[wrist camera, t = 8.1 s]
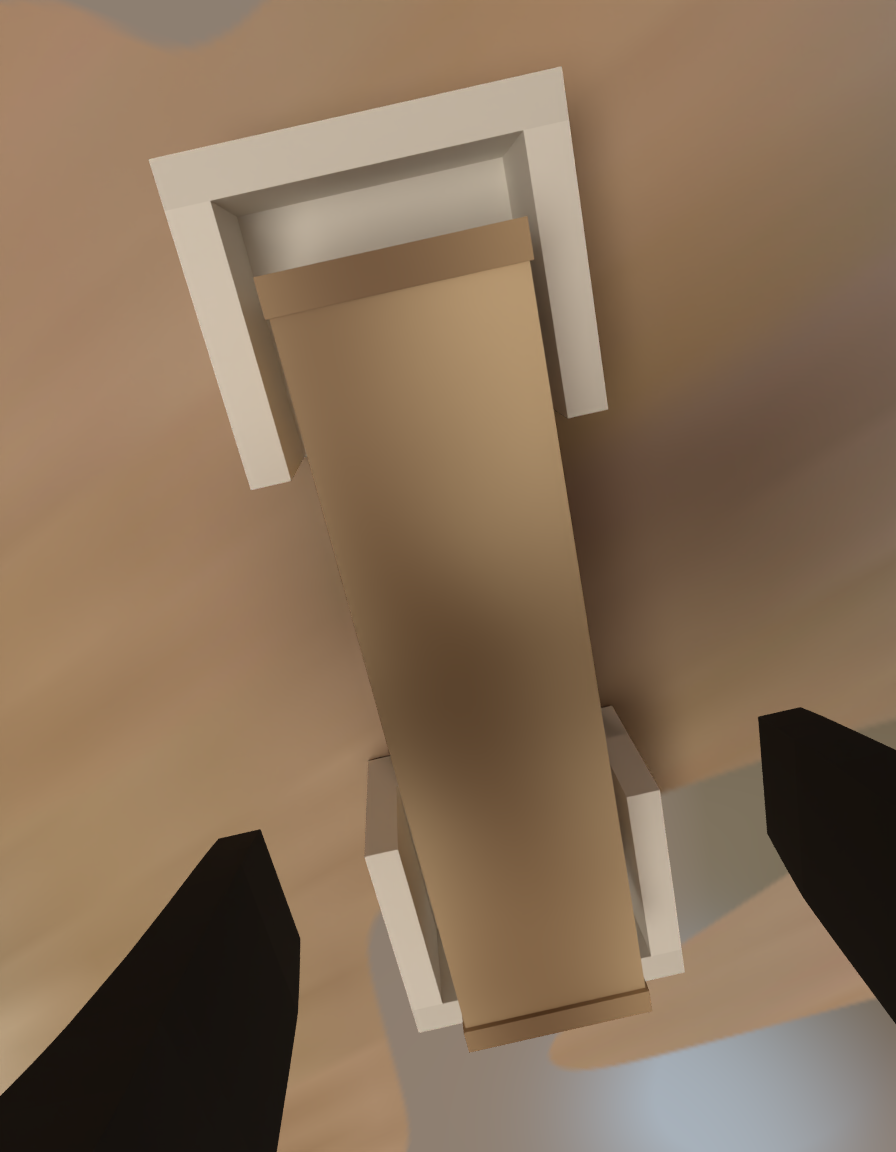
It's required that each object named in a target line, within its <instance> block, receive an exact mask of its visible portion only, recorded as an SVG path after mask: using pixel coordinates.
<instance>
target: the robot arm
mask: <svg viewBox="0 0 896 1152" xmlns="http://www.w3.org/2000/svg"><path fill="white" fill-rule="evenodd" d="M758 721H759V733H760V746H761V759H762V772H763V785H764V797H765V810H766V823H767V834H768V836H769V837H770V839H771V841H772V843H773V845H774V847H775V848H776V850H777V852H778V854H779V856H780V857H781V859H782V861H783V863H784V865H785V867H786V869H787V870H788V872H789V874H790V875H791V877H792V879H793V881H794V882H795V884H796V886H797V888H798V889H799V891H800V893H801V894H802V896H803V898H804V899H805V901H806V902H807V904H808V905H809V906H810V908H811V909H812V911H813V912H814V913H815V915H816V916H817V918H818V919H819V920H820V922H821V923H822V924H823V926H824V927H825V929H826V930H827V931H828V933H829V934H830V935H831V937H832V938H833V940H834V941H835V942H836V944H837V945H838V946H839V948H840V949H841V951H842V952H843V953H844V955H845V956H846V957H847V959H848V960H849V961H850V963H851V964H852V965H853V967H854V968H855V969H856V971H857V972H858V973H859V975H860V976H861V978H862V979H863V980H864V982H865V983H866V984H867V986H868V987H869V988H870V990H871V991H872V992H873V994H874V995H875V996H876V998H877V999H878V1001H879V1002H880V1003H881V1005H882V1006H883V1007H884V1009H885V1010H886V1011H887V1013H888V1014H889V1015H890V1017H891V1018H892V1019H893V1021H894V1022H895V1024H896V750H894V749H892V748H890V747H888V746H886V745H884V744H882V743H880V742H877V741H875V740H873V739H871V738H869V737H867V736H864V735H862V734H860V733H858V732H856V731H854V730H851V729H849V728H847V727H845V726H843V725H841V724H838V723H836V722H834V721H832V720H830V719H827V718H825V717H823V716H821V715H818V714H816V713H814V712H811V711H809V710H806V709H804V708H801V707H799V708H795V709H791V710H786V711H782V712H777V713H773V714H769V715H764V716H760V717H758ZM299 975H300V937H299V934H298V931H297V929H296V926H295V923H294V920H293V918H292V915H291V912H290V909H289V907H288V904H287V901H286V898H285V896H284V893H283V890H282V887H281V885H280V882H279V879H278V876H277V874H276V871H275V868H274V865H273V863H272V860H271V857H270V854H269V852H268V849H267V846H266V843H265V841H264V838H263V835H262V832H261V830H255V831H251V832H246V833H242V834H238V835H233V836H229V837H224V838H220V839H218V840H217V841H216V842H215V844H214V845H213V846H212V847H211V848H210V850H209V851H208V852H207V853H206V855H205V856H204V857H203V858H202V860H201V861H200V862H199V864H198V865H197V866H196V868H195V869H194V870H193V871H192V873H191V874H190V875H189V877H188V878H187V879H186V881H185V882H184V883H183V885H182V886H181V887H180V888H179V890H178V891H177V892H176V894H175V895H174V896H173V898H172V899H171V900H170V902H169V903H168V904H167V905H166V907H165V908H164V909H163V911H162V912H161V913H160V914H159V916H158V917H157V918H156V919H155V921H154V922H153V923H152V925H151V926H150V927H149V928H148V930H147V931H146V932H145V933H144V935H143V936H142V937H141V939H140V940H139V941H138V942H137V944H136V945H135V946H134V947H133V949H132V950H131V951H130V953H129V954H128V955H127V956H126V957H125V959H124V960H123V961H122V962H121V963H120V965H119V966H118V967H117V968H116V969H115V970H114V972H113V973H112V974H111V975H110V976H109V977H108V979H107V980H106V981H105V982H104V983H103V985H102V986H101V987H100V988H99V989H98V990H97V992H96V993H95V994H94V995H93V996H92V997H91V999H90V1000H89V1001H88V1002H87V1003H86V1004H85V1006H84V1007H83V1008H82V1009H81V1010H80V1012H79V1013H78V1014H77V1015H76V1016H75V1017H74V1019H73V1020H72V1021H71V1022H70V1023H69V1024H68V1026H67V1027H66V1028H65V1029H64V1030H63V1031H62V1032H61V1033H60V1034H59V1035H58V1037H57V1038H56V1039H55V1040H54V1041H53V1042H52V1043H51V1044H50V1045H49V1046H48V1047H47V1048H46V1049H45V1051H44V1052H43V1053H42V1054H41V1055H40V1056H39V1057H38V1058H37V1059H36V1060H35V1061H34V1062H33V1063H32V1064H31V1065H30V1066H29V1067H28V1068H27V1069H26V1070H25V1071H24V1073H23V1074H22V1075H21V1076H20V1077H19V1078H18V1079H17V1080H16V1081H15V1082H14V1083H13V1084H12V1085H11V1086H10V1087H9V1088H8V1089H7V1090H6V1091H5V1092H4V1093H3V1094H2V1095H1V1096H0V1152H277V1146H278V1140H279V1133H280V1127H281V1120H282V1114H283V1108H284V1101H285V1095H286V1089H287V1082H288V1076H289V1069H290V1063H291V1056H292V1049H293V1043H294V1036H295V1029H296V1022H297V1015H298V999H299Z"/></svg>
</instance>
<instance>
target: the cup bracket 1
mask: <svg viewBox="0 0 896 1152" xmlns="http://www.w3.org/2000/svg"><path fill="white" fill-rule="evenodd" d="M149 163H150V166H151V169H152V172H153V175H154V179H155V182H156V185H157V188H158V192H159V195H160V198H161V201H162V205H163V208H164V211H165V214H166V217H167V221H168V224H169V227H170V230H171V234H172V237H173V240H174V243H175V246H176V250H177V253H178V256H179V259H180V263H181V266H182V269H183V272H184V276H185V279H186V282H187V285H188V288H189V292H190V295H191V298H192V301H193V305H194V308H195V311H196V314H197V318H198V321H199V324H200V327H201V330H202V334H203V337H204V340H205V343H206V347H207V350H208V353H209V356H210V360H211V363H212V366H213V369H214V372H215V376H216V379H217V382H218V385H219V389H220V392H221V395H222V398H223V401H224V405H225V408H226V411H227V414H228V418H229V421H230V424H231V427H232V431H233V434H234V437H235V440H236V443H237V447H238V450H239V453H240V456H241V460H242V463H243V466H244V469H245V473H246V476H247V479H248V482H249V485H250V489H251V490H254V489H258V488H263V487H267V486H271V485H276V484H280V483H285V482H289V481H292V479H293V477H294V475H295V473H296V471H297V469H298V468H299V466H300V464H301V462H302V460H303V458H304V457H306V456H307V454H306V450H305V447H304V443H303V439H302V436H301V432H300V429H299V425H298V421H297V418H296V414H295V410H294V407H293V403H292V400H291V396H290V392H289V389H288V385H287V382H286V378H285V374H284V371H283V367H282V364H281V360H280V356H279V353H278V349H277V346H276V342H275V338H274V335H273V331H272V327H271V324H270V320H269V319H268V320H265V318H264V315H263V311H262V308H261V304H260V300H259V297H258V293H257V290H256V286H255V283H254V279H253V277H257V276H261V275H266V274H270V273H275V272H279V271H284V270H288V269H293V268H297V267H302V266H306V265H311V264H315V263H319V262H324V261H328V260H333V259H337V258H342V257H346V256H351V255H355V254H360V253H364V252H369V251H373V250H378V249H382V248H386V247H391V246H395V245H400V244H404V243H409V242H413V241H418V240H422V239H427V238H431V237H436V236H440V235H445V234H449V233H454V232H458V231H462V230H467V229H471V228H476V227H480V226H485V225H489V224H494V223H498V222H503V221H507V220H512V219H516V218H521V217H525V216H528V223H529V229H530V235H531V242H532V248H533V254H534V260H531V261H530V265H531V271H532V277H533V284H534V290H535V296H536V303H537V309H538V315H539V321H540V328H541V334H542V340H543V347H544V353H545V359H546V365H547V372H548V378H549V384H550V391H551V397H552V403H553V409H554V410H555V411H557V412H558V413H560V414H562V415H563V416H565V417H567V418H572V417H576V416H581V415H585V414H590V413H594V412H599V411H603V410H607V409H608V404H607V396H606V389H605V382H604V374H603V367H602V359H601V352H600V345H599V337H598V330H597V323H596V315H595V308H594V300H593V293H592V286H591V278H590V271H589V264H588V256H587V249H586V241H585V234H584V227H583V219H582V212H581V205H580V197H579V190H578V182H577V175H576V168H575V160H574V153H573V146H572V138H571V131H570V124H569V116H568V109H567V101H566V94H565V87H564V79H563V72H562V66H561V67H557V68H552V69H548V70H543V71H539V72H535V73H530V74H526V75H521V76H517V77H512V78H508V79H503V80H499V81H495V82H490V83H486V84H481V85H477V86H472V87H468V88H463V89H459V90H455V91H450V92H446V93H441V94H437V95H432V96H428V97H423V98H419V99H415V100H410V101H406V102H401V103H397V104H392V105H388V106H384V107H379V108H375V109H370V110H366V111H361V112H357V113H352V114H348V115H344V116H339V117H335V118H330V119H326V120H321V121H317V122H312V123H308V124H304V125H299V126H295V127H290V128H286V129H281V130H277V131H273V132H268V133H264V134H259V135H255V136H250V137H246V138H241V139H237V140H233V141H228V142H224V143H219V144H215V145H210V146H206V147H201V148H197V149H193V150H188V151H184V152H179V153H175V154H170V155H166V156H161V157H157V158H153V159H149Z"/></svg>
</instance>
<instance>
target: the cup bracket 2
mask: <svg viewBox="0 0 896 1152" xmlns="http://www.w3.org/2000/svg"><path fill="white" fill-rule="evenodd" d="M601 711H602V718H603V724H604V730H605V737H606V743H607V749H608V755H609V762H610V768H611V774H612V781H613V787H614V793H615V799H616V806H617V812H618V818H619V825H620V831H621V837H622V843H623V850H624V856H625V862H626V869H627V875H628V881H629V887H630V894H631V900H632V906H633V913H634V919H635V925H636V931H637V938H638V944H639V950H640V957H641V963H642V969H643V975H644V979H645V981H649V980H653V979H657V978H662V977H666V976H671V975H675V974H679V973H684V972H685V971H684V964H683V957H682V949H681V942H680V934H679V927H678V920H677V912H676V905H675V898H674V890H673V883H672V876H671V868H670V861H669V854H668V846H667V839H666V832H665V824H664V817H663V809H662V802H661V794H660V789H659V787H658V786H657V784H656V782H655V780H654V779H653V777H652V775H651V773H650V772H649V770H648V768H647V766H646V765H645V763H644V761H643V759H642V757H641V756H640V754H639V752H638V750H637V749H636V747H635V745H634V743H633V742H632V740H631V738H630V736H629V735H628V733H627V731H626V729H625V728H624V726H623V724H622V722H621V721H620V719H619V717H618V715H617V713H616V712H615V710H614V708H613V706H608V707H604V708H601ZM365 860H366V863H367V866H368V870H369V873H370V876H371V879H372V883H373V886H374V889H375V892H376V896H377V899H378V902H379V905H380V908H381V912H382V915H383V918H384V921H385V925H386V928H387V931H388V934H389V937H390V941H391V944H392V947H393V950H394V953H395V957H396V960H397V963H398V967H399V970H400V973H401V976H402V979H403V983H404V985H405V989H406V992H407V996H408V999H409V1002H410V1005H411V1008H412V1011H413V1015H414V1018H415V1021H416V1025H417V1028H418V1031H419V1033H420V1032H425V1031H428V1030H433V1029H438V1028H442V1027H447V1026H451V1025H455V1024H460V1023H463V1020H462V1013H461V1010H460V1006H459V1003H458V999H457V995H456V992H455V988H454V984H453V981H452V977H451V974H450V970H449V966H448V963H447V959H446V956H445V952H444V948H443V945H442V941H441V938H440V934H439V930H438V927H437V923H436V920H435V916H434V912H433V909H432V905H431V901H430V898H429V894H428V891H427V887H426V883H425V880H424V876H423V873H422V869H421V865H420V862H419V858H418V855H417V851H416V847H415V844H414V840H413V836H412V833H411V829H410V826H409V822H408V818H407V815H406V811H405V808H404V804H403V800H402V797H401V793H400V790H399V786H398V782H397V779H396V775H395V771H394V768H393V764H392V761H391V757H390V756H388V757H383V758H379V759H375V760H370V761H368V779H367V806H366V832H365Z"/></svg>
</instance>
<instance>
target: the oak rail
mask: <svg viewBox="0 0 896 1152" xmlns="http://www.w3.org/2000/svg"><path fill="white" fill-rule="evenodd" d="M531 260H534V254H533V248H532V242H531V235H530V229H529V223H528V216H525V217H521V218H516V219H512V220H507V221H503V222H498V223H494V224H489V225H485V226H480V227H476V228H471V229H467V230H462V231H458V232H454V233H449V234H445V235H440V236H436V237H431V238H427V239H422V240H418V241H413V242H409V243H404V244H400V245H395V246H391V247H386V248H382V249H378V250H373V251H369V252H364V253H360V254H355V255H351V256H346V257H342V258H337V259H333V260H328V261H324V262H319V263H315V264H311V265H306V266H302V267H297V268H293V269H288V270H284V271H279V272H275V273H270V274H266V275H261V276H257V277H253V279H254V283H255V286H256V290H257V293H258V297H259V300H260V304H261V308H262V311H263V315H264V318H265V320H268V319H269V320H270V324H271V327H272V331H273V335H274V338H275V342H276V346H277V349H278V353H279V356H280V360H281V364H282V367H283V371H284V374H285V378H286V382H287V385H288V389H289V392H290V396H291V400H292V403H293V407H294V410H295V414H296V418H297V421H298V425H299V429H300V432H301V436H302V439H303V443H304V447H305V450H306V454H307V457H308V461H309V465H310V468H311V472H312V475H313V479H314V483H315V486H316V490H317V494H318V497H319V501H320V504H321V508H322V512H323V515H324V519H325V522H326V526H327V530H328V533H329V537H330V540H331V544H332V548H333V551H334V555H335V559H336V562H337V566H338V569H339V573H340V577H341V580H342V584H343V587H344V591H345V595H346V598H347V602H348V605H349V609H350V613H351V616H352V620H353V623H354V627H355V631H356V634H357V638H358V642H359V645H360V649H361V652H362V656H363V660H364V663H365V667H366V670H367V674H368V678H369V681H370V685H371V688H372V692H373V696H374V699H375V703H376V707H377V710H378V714H379V717H380V721H381V725H382V728H383V732H384V735H385V739H386V743H387V746H388V750H389V753H390V757H391V761H392V764H393V768H394V771H395V775H396V779H397V782H398V786H399V790H400V793H401V797H402V800H403V804H404V808H405V811H406V815H407V818H408V822H409V826H410V829H411V833H412V836H413V840H414V844H415V847H416V851H417V855H418V858H419V862H420V865H421V869H422V873H423V876H424V880H425V883H426V887H427V891H428V894H429V898H430V901H431V905H432V909H433V912H434V916H435V920H436V923H437V927H438V930H439V934H440V938H441V941H442V945H443V948H444V952H445V956H446V959H447V963H448V966H449V970H450V974H451V977H452V981H453V984H454V988H455V992H456V995H457V999H458V1003H459V1006H460V1010H461V1013H462V1020H463V1029H464V1035H465V1039H466V1042H467V1046H468V1050H469V1052H474V1051H479V1050H483V1049H487V1048H492V1047H496V1046H501V1045H505V1044H509V1043H514V1042H518V1041H522V1040H527V1039H531V1038H536V1037H540V1036H544V1035H549V1034H554V1033H558V1032H562V1031H567V1030H571V1029H576V1028H580V1027H584V1026H589V1025H593V1024H598V1023H602V1022H607V1021H611V1020H615V1019H620V1018H624V1017H629V1016H633V1015H637V1014H642V1013H646V1012H651V1011H652V1006H651V999H650V993H649V989H648V987H647V984H646V981H645V979H644V975H643V969H642V963H641V957H640V950H639V944H638V938H637V931H636V925H635V919H634V913H633V906H632V900H631V894H630V887H629V881H628V875H627V869H626V862H625V856H624V850H623V843H622V837H621V831H620V825H619V818H618V812H617V806H616V799H615V793H614V787H613V781H612V774H611V768H610V762H609V755H608V749H607V743H606V737H605V730H604V724H603V718H602V711H601V705H600V699H599V692H598V686H597V680H596V674H595V667H594V661H593V655H592V648H591V642H590V636H589V630H588V623H587V617H586V611H585V604H584V598H583V592H582V586H581V579H580V573H579V567H578V560H577V554H576V548H575V542H574V535H573V529H572V523H571V516H570V510H569V504H568V498H567V491H566V485H565V479H564V472H563V466H562V460H561V454H560V447H559V441H558V435H557V428H556V422H555V416H554V410H553V403H552V397H551V391H550V384H549V378H548V372H547V365H546V359H545V353H544V347H543V340H542V334H541V328H540V321H539V315H538V309H537V303H536V296H535V290H534V284H533V277H532V271H531V265H530V261H531Z"/></svg>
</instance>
